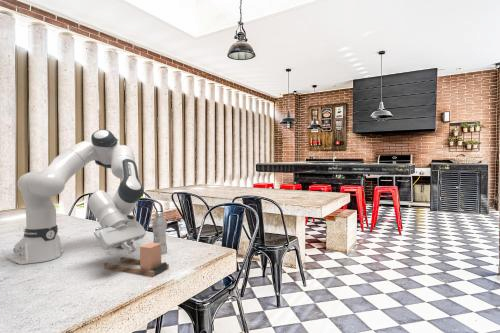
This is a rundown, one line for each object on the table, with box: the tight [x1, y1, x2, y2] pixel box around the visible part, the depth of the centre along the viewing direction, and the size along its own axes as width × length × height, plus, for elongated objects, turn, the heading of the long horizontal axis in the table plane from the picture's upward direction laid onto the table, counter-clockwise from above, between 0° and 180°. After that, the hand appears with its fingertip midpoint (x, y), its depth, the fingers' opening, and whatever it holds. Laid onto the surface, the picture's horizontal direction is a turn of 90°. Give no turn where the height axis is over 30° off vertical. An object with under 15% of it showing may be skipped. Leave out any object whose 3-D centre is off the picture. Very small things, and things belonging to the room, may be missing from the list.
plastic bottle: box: [152, 210, 168, 255], centre depth 137 cm, size 6×7×20 cm
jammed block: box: [139, 242, 162, 271], centre depth 113 cm, size 5×6×10 cm
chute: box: [103, 256, 170, 278], centre depth 116 cm, size 24×9×4 cm, turn 67°
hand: (133, 251), depth 115 cm, fingers closed
